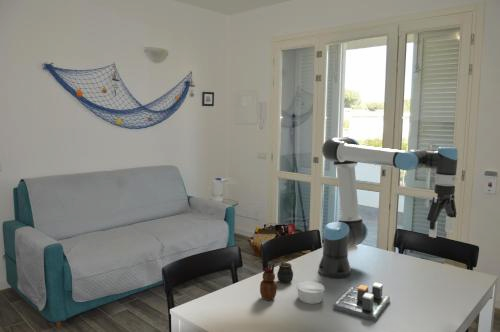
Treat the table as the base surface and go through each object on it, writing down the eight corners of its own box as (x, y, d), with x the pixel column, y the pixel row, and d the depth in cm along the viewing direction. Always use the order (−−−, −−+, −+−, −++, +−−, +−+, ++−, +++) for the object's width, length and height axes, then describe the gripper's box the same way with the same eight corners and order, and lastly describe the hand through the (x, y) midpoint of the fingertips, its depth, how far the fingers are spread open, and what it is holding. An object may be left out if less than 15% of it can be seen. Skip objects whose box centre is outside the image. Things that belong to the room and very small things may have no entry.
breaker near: (362, 308, 147) (362, 295, 146) (365, 305, 150) (365, 292, 149) (370, 310, 145) (370, 298, 144) (373, 307, 148) (373, 294, 147)
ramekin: (307, 307, 152) (307, 294, 152) (291, 296, 162) (291, 283, 161) (330, 302, 157) (330, 289, 157) (313, 291, 167) (313, 279, 167)
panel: (333, 309, 151) (333, 303, 151) (351, 291, 167) (351, 286, 167) (374, 321, 142) (375, 315, 142) (389, 301, 159) (389, 296, 158)
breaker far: (371, 297, 157) (372, 285, 156) (374, 294, 160) (375, 282, 159) (379, 299, 155) (380, 287, 154) (382, 295, 158) (382, 284, 157)
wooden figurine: (278, 296, 161) (279, 261, 159) (274, 302, 155) (275, 266, 154) (262, 294, 163) (263, 259, 161) (258, 300, 158) (258, 264, 156)
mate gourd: (285, 286, 171) (285, 264, 170) (273, 281, 177) (273, 259, 176) (296, 282, 176) (296, 260, 175) (284, 277, 182) (284, 256, 181)
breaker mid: (357, 299, 154) (357, 287, 153) (360, 296, 157) (360, 284, 156) (364, 302, 152) (365, 289, 152) (367, 298, 155) (368, 286, 155)
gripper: (439, 188, 151) (434, 241, 154) (468, 183, 167) (463, 231, 169) (420, 185, 157) (416, 236, 160) (450, 180, 172) (446, 227, 175)
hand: (440, 234), depth 164 cm, fingers open, 13 cm apart
